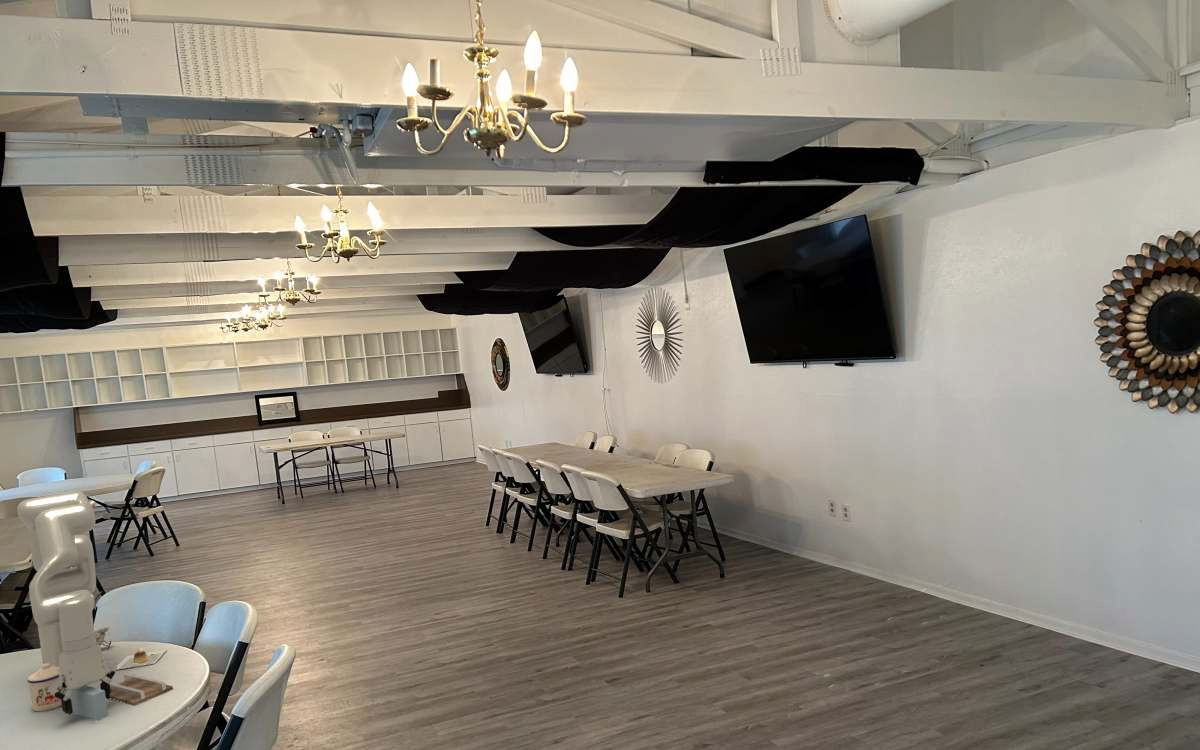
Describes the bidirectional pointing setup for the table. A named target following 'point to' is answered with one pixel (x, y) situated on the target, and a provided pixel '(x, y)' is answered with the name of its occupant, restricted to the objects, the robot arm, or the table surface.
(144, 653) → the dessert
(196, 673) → the table surface
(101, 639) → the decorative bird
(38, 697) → the teacup with lid
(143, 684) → the bottom track
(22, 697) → the table surface
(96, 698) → the door panel
